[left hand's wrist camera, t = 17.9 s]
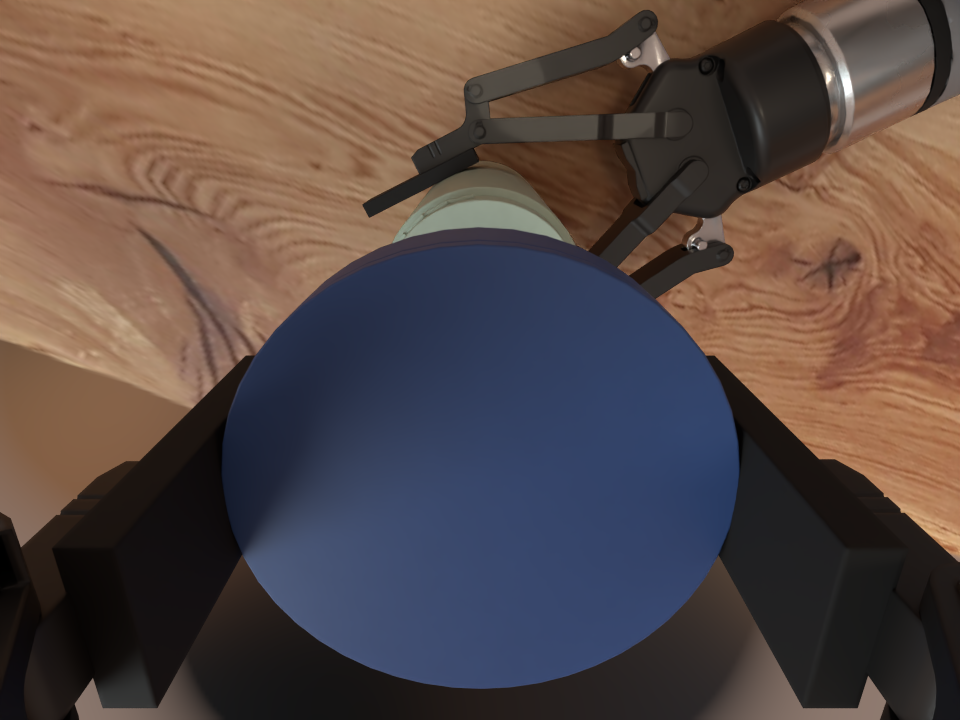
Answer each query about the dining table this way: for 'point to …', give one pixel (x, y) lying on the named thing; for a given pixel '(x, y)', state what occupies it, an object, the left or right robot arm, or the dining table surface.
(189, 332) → the dining table surface
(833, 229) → the dining table surface
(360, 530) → the lid
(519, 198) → the jar
